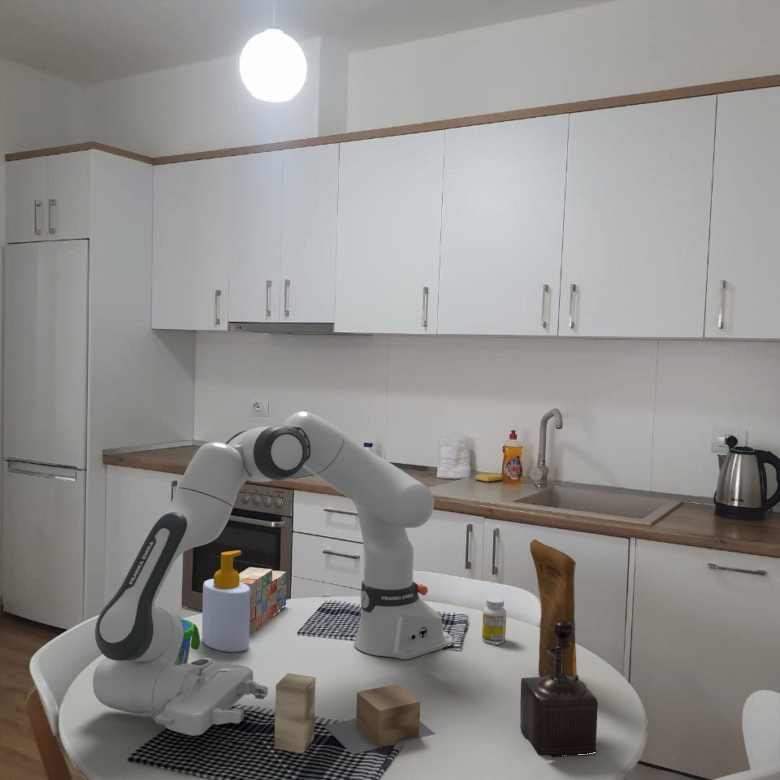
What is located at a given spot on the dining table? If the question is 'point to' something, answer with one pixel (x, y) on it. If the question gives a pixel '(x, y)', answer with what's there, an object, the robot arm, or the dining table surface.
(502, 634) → the supplement bottle
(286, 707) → the oak column
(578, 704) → the manual coffee grinder
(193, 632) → the snack cup
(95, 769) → the dining table surface
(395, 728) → the walnut block
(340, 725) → the mat
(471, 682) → the dining table surface
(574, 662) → the pancake mix bag
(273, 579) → the stack of blocks
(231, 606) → the soap bottle
